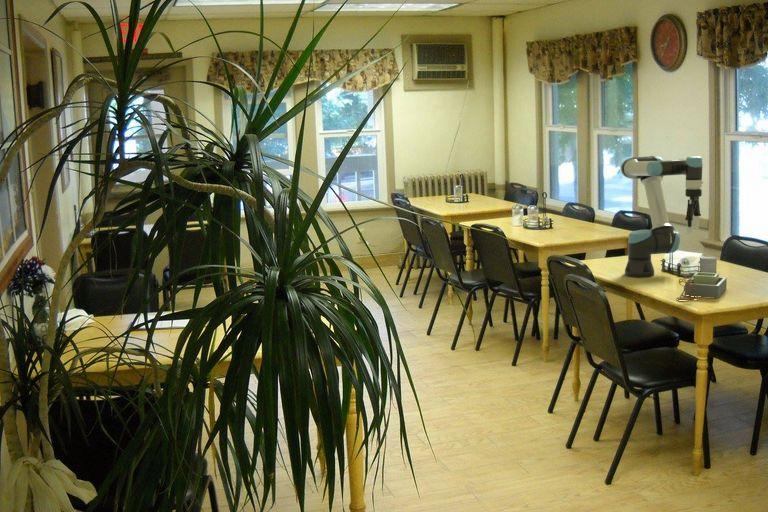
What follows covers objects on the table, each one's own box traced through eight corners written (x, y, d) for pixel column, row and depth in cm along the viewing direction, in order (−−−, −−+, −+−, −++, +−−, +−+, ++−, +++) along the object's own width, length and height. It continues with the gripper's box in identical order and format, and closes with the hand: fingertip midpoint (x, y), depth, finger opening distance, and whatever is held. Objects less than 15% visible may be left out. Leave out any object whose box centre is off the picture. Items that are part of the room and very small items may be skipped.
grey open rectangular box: (684, 296, 421) (685, 283, 420) (694, 287, 437) (694, 275, 436) (718, 298, 413) (718, 285, 412) (726, 289, 430) (726, 277, 429)
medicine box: (714, 272, 469) (714, 256, 467) (716, 274, 465) (716, 258, 463) (698, 273, 470) (699, 257, 468) (700, 275, 465) (701, 258, 464)
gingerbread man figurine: (694, 298, 415) (695, 273, 413) (698, 300, 412) (698, 274, 410) (676, 299, 415) (676, 274, 413) (679, 301, 411) (680, 276, 409)
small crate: (693, 291, 424) (693, 275, 423) (696, 288, 431) (696, 272, 430) (715, 293, 419) (715, 276, 418) (718, 289, 426) (718, 273, 425)
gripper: (696, 191, 424) (695, 235, 427) (706, 185, 445) (706, 227, 448) (679, 191, 428) (679, 234, 431) (691, 185, 449) (690, 227, 452)
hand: (692, 231), depth 440 cm, fingers open, 13 cm apart
